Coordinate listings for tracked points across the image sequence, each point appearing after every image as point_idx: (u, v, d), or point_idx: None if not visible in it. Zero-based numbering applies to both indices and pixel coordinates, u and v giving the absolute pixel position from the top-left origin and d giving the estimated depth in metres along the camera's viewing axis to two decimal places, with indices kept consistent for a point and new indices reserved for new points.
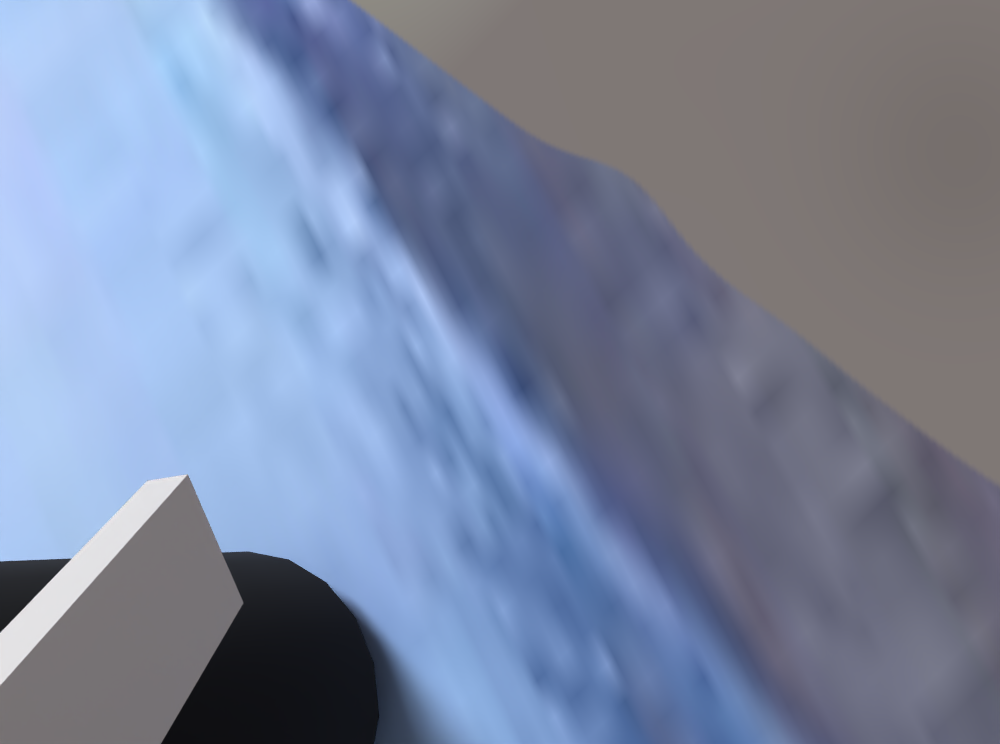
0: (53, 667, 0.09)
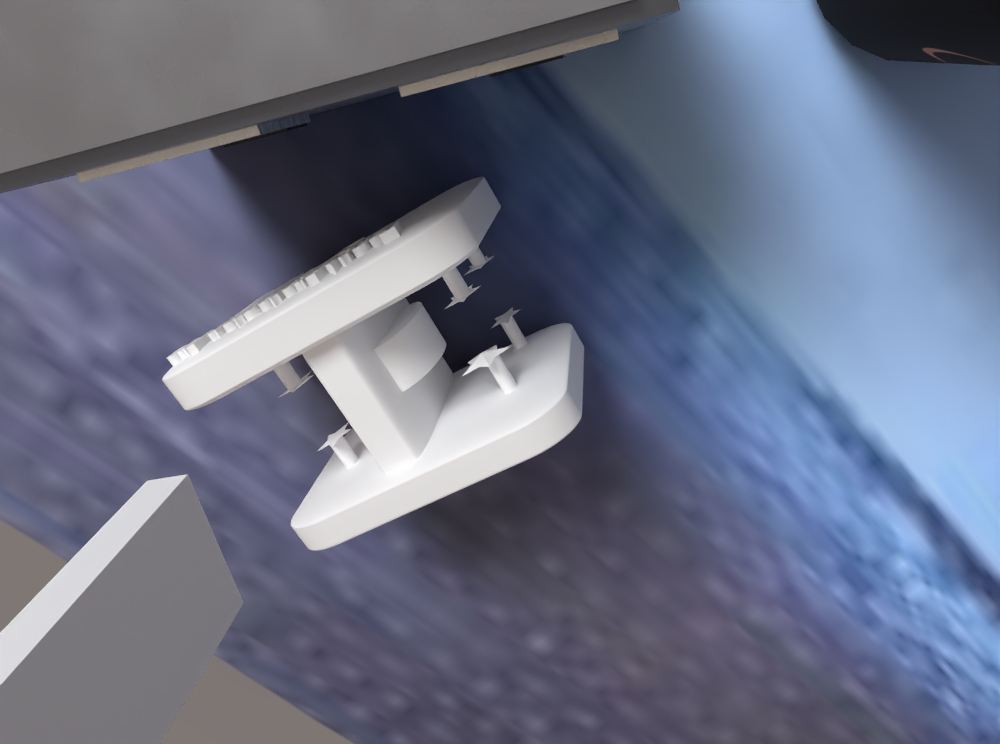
0: (54, 667, 0.09)
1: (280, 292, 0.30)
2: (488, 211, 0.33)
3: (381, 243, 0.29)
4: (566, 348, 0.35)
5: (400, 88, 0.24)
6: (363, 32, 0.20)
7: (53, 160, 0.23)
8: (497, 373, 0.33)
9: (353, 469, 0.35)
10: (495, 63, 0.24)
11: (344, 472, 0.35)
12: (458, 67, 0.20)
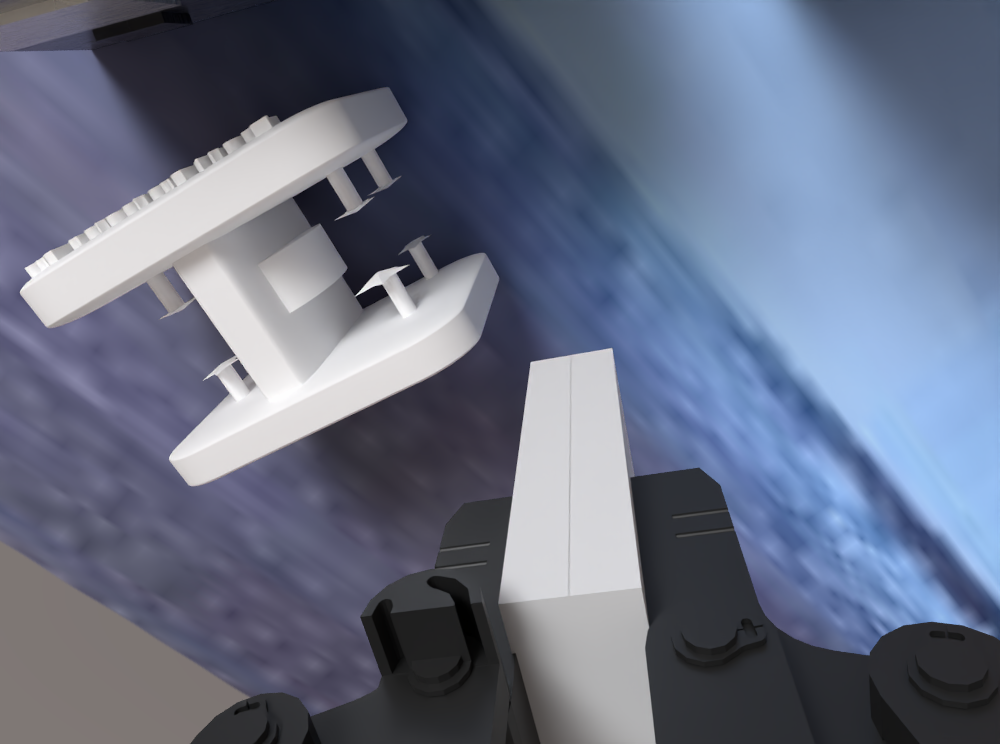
0: None
1: (148, 195, 0.28)
2: (386, 118, 0.30)
3: (254, 137, 0.26)
4: (474, 273, 0.32)
5: None
6: None
7: None
8: (393, 294, 0.30)
9: (241, 401, 0.32)
10: None
11: (233, 404, 0.33)
12: None
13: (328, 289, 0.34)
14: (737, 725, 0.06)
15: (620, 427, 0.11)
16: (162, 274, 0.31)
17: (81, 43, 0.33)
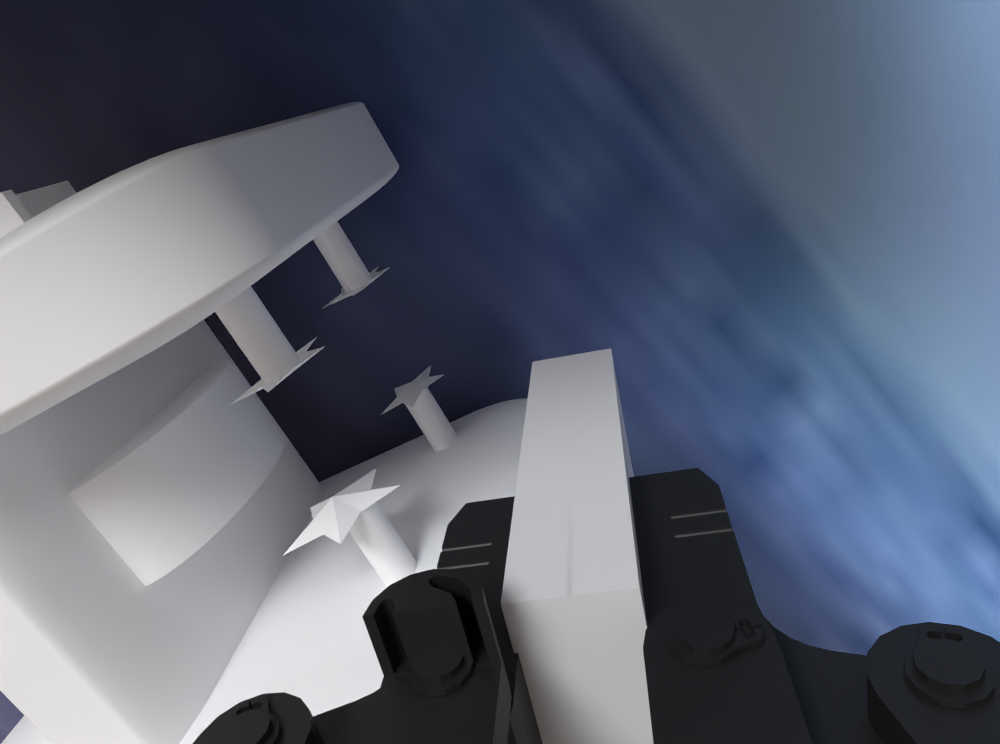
0: None
1: None
2: (352, 170, 0.14)
3: None
4: None
5: None
6: None
7: None
8: (367, 546, 0.14)
9: None
10: None
11: None
12: None
13: None
14: (734, 725, 0.06)
15: (619, 427, 0.11)
16: None
17: None
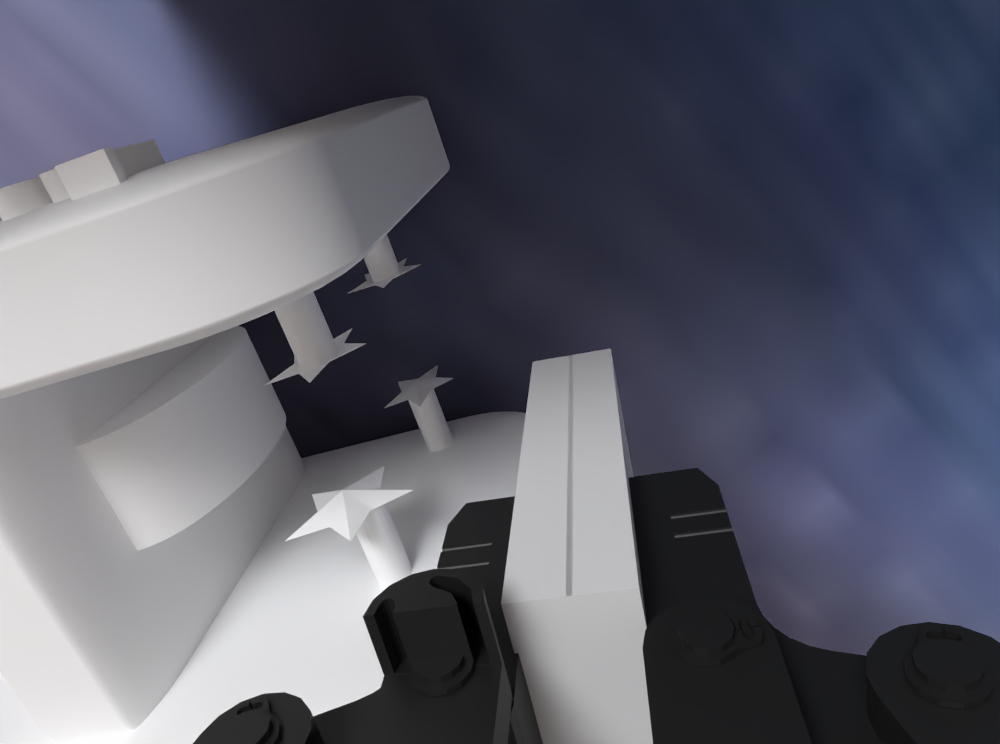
0: None
1: None
2: (418, 170, 0.14)
3: None
4: None
5: None
6: None
7: None
8: (370, 545, 0.14)
9: None
10: None
11: None
12: None
13: None
14: (734, 726, 0.06)
15: (619, 427, 0.11)
16: None
17: None
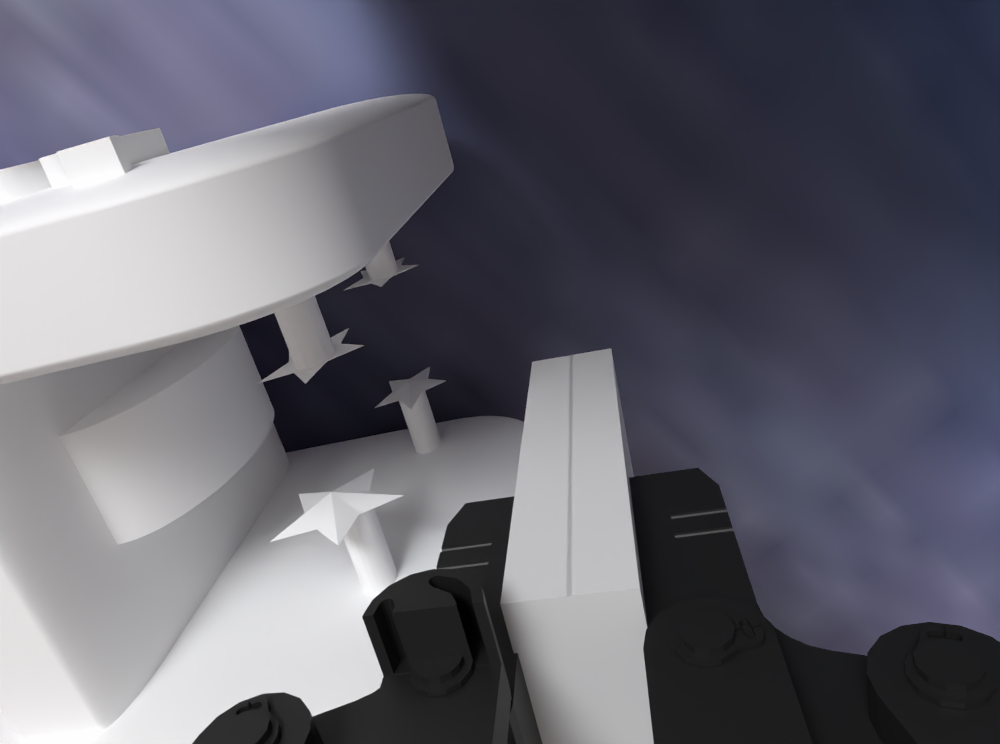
0: None
1: None
2: (424, 171, 0.14)
3: None
4: None
5: None
6: None
7: None
8: (356, 549, 0.14)
9: None
10: None
11: None
12: None
13: None
14: (735, 725, 0.06)
15: (619, 427, 0.11)
16: None
17: None
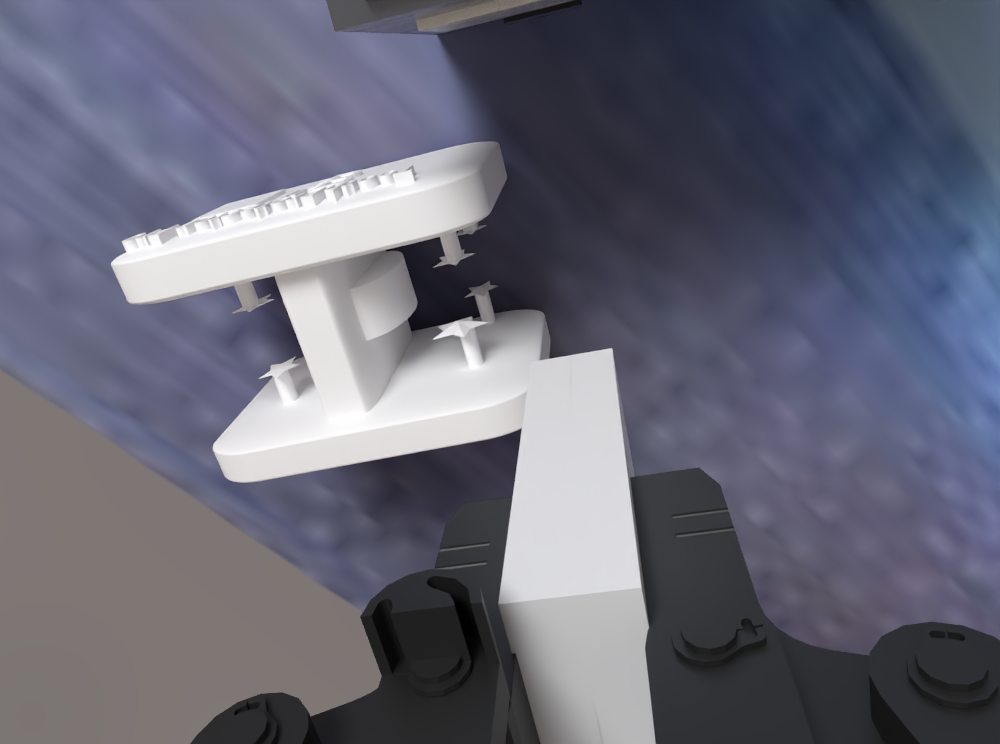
0: None
1: (267, 205, 0.28)
2: (499, 179, 0.32)
3: (391, 183, 0.27)
4: (538, 337, 0.34)
5: None
6: None
7: None
8: (468, 345, 0.32)
9: (291, 406, 0.33)
10: None
11: (281, 407, 0.33)
12: None
13: None
14: (737, 725, 0.06)
15: (620, 427, 0.11)
16: None
17: None
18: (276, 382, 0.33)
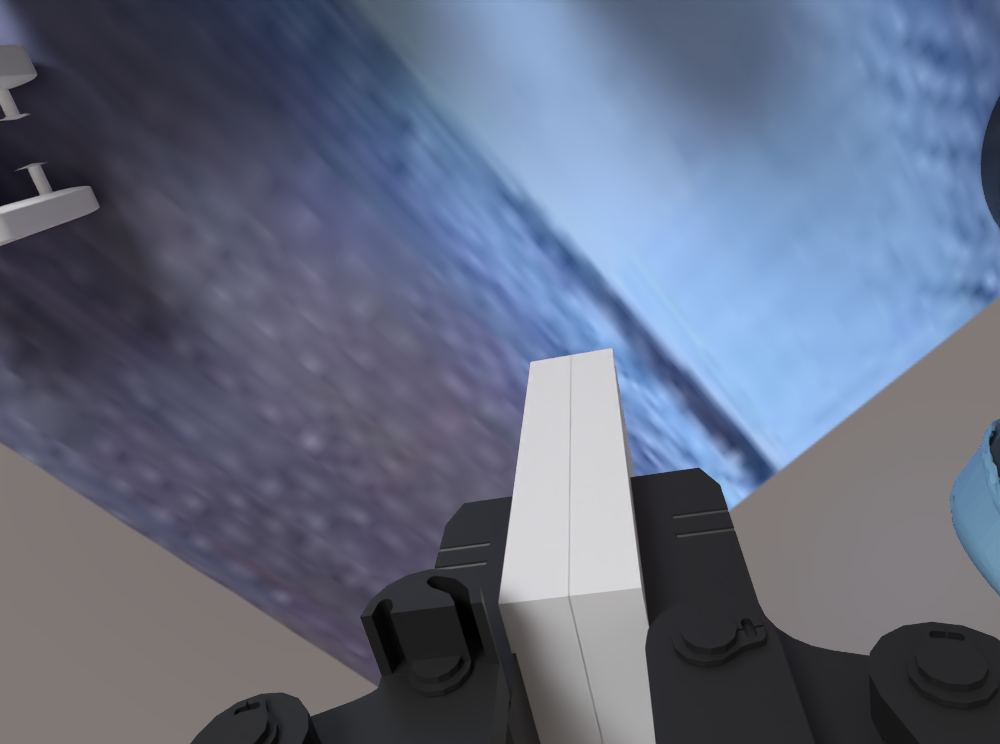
0: None
1: None
2: None
3: None
4: (53, 196, 0.44)
5: None
6: None
7: None
8: None
9: None
10: None
11: None
12: None
13: None
14: (737, 725, 0.06)
15: (620, 427, 0.11)
16: None
17: None
18: None
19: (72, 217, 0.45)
